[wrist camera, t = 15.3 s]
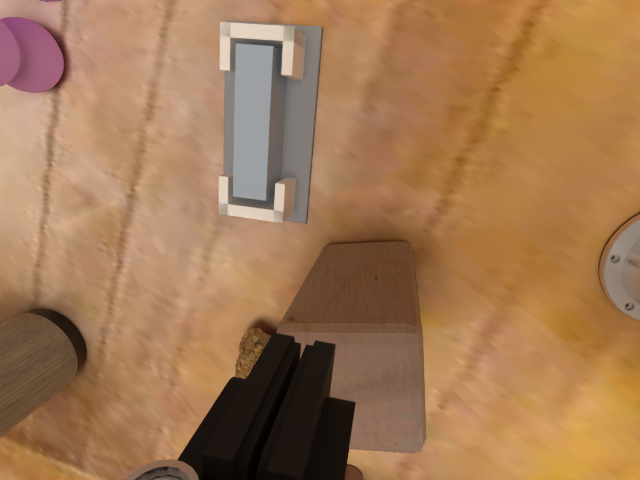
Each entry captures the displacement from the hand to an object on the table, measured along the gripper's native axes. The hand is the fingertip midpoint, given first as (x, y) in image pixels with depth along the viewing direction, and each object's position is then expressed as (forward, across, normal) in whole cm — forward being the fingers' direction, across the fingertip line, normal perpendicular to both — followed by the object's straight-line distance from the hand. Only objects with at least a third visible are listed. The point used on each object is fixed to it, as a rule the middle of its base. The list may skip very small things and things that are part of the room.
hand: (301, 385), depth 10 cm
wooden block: (+33, -1, +11) cm, 35 cm away
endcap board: (+33, +12, -5) cm, 36 cm away
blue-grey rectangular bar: (+32, +12, -5) cm, 35 cm away
